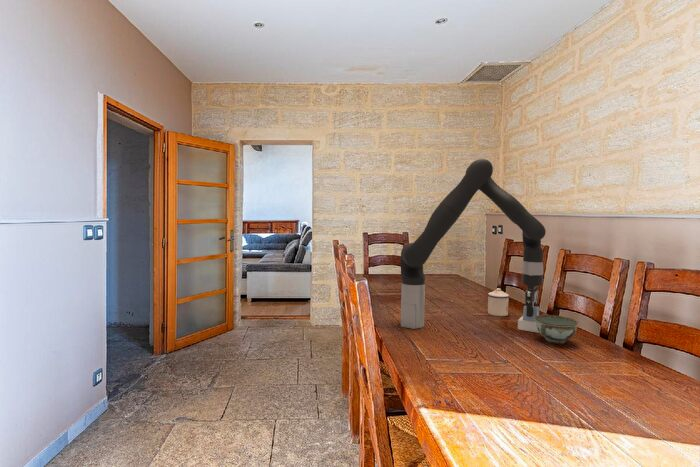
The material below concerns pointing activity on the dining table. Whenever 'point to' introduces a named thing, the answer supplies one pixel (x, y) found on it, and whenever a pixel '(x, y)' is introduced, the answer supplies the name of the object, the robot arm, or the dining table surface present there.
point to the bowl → (556, 328)
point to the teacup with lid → (498, 303)
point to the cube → (535, 313)
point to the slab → (527, 325)
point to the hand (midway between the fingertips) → (531, 314)
